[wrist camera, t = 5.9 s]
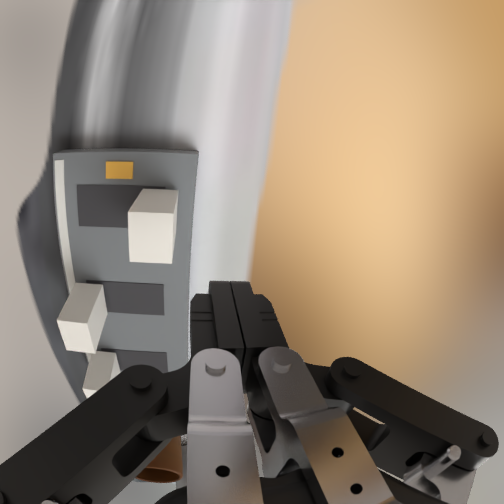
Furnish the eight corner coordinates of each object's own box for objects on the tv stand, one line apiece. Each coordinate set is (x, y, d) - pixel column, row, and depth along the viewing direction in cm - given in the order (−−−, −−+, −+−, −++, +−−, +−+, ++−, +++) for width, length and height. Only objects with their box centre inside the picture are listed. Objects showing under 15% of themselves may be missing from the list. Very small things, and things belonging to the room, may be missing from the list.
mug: (115, 386, 30) (107, 450, 22) (173, 389, 32) (176, 455, 23) (134, 429, 35) (133, 481, 27) (182, 431, 37) (186, 483, 29)
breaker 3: (176, 230, 20) (172, 263, 16) (142, 229, 20) (129, 261, 15) (178, 190, 19) (173, 213, 15) (142, 188, 18) (127, 211, 14)
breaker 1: (107, 313, 22) (95, 353, 18) (82, 311, 22) (66, 349, 17) (102, 284, 21) (87, 323, 17) (76, 282, 20) (56, 320, 16)
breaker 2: (120, 371, 26) (114, 409, 21) (98, 369, 25) (90, 406, 21) (115, 352, 24) (108, 392, 20) (92, 350, 24) (82, 388, 20)
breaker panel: (187, 373, 31) (188, 387, 29) (97, 366, 28) (93, 380, 26) (198, 151, 20) (198, 154, 18) (63, 149, 18) (52, 153, 16)
